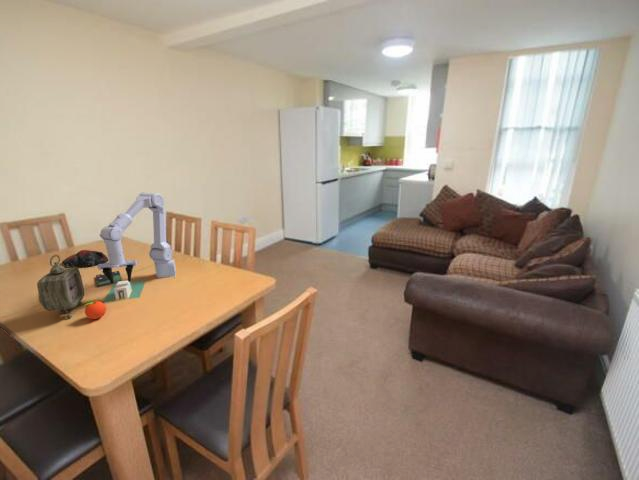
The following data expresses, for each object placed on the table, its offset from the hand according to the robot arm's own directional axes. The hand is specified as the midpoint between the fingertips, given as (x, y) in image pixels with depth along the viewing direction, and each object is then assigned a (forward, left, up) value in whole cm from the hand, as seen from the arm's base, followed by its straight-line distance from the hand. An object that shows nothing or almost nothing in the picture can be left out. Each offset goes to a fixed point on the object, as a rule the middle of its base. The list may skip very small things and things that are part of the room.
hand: (121, 282), depth 139 cm
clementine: (+7, +17, -8) cm, 19 cm away
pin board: (0, -4, -7) cm, 9 cm away
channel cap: (0, 0, -6) cm, 6 cm away
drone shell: (+30, -56, -8) cm, 64 cm away
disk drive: (+11, -22, -8) cm, 26 cm away
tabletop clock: (+19, +8, -8) cm, 22 cm away
